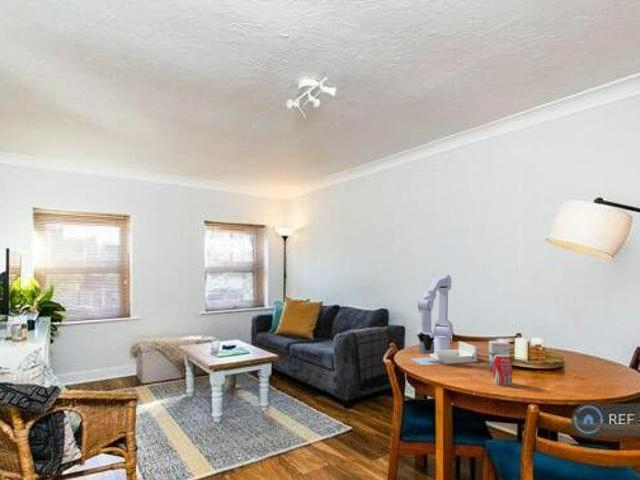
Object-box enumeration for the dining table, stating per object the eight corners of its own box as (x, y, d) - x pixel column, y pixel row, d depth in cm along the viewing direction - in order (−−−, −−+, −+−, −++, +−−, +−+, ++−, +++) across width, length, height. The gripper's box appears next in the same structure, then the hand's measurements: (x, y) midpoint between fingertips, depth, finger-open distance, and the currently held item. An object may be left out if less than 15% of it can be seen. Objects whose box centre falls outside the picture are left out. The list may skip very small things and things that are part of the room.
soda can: (496, 380, 170) (495, 352, 171) (514, 383, 166) (513, 354, 166) (491, 384, 165) (491, 355, 166) (509, 387, 160) (509, 357, 161)
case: (430, 357, 211) (429, 342, 211) (459, 355, 215) (459, 340, 216) (447, 365, 194) (447, 349, 195) (479, 363, 199) (479, 347, 199)
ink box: (492, 367, 192) (491, 342, 192) (488, 364, 197) (488, 340, 197) (510, 367, 191) (509, 343, 192) (506, 365, 196) (506, 341, 197)
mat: (410, 359, 207) (410, 358, 207) (429, 358, 210) (429, 357, 210) (422, 365, 194) (422, 364, 194) (442, 364, 197) (442, 363, 197)
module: (419, 352, 204) (419, 340, 204) (430, 351, 205) (430, 340, 205) (423, 354, 200) (423, 342, 200) (434, 353, 201) (434, 341, 201)
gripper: (411, 320, 209) (412, 346, 208) (425, 325, 195) (425, 352, 194) (424, 320, 211) (424, 346, 210) (438, 324, 197) (438, 352, 196)
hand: (425, 349), depth 202 cm, fingers closed on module, 4 cm apart
